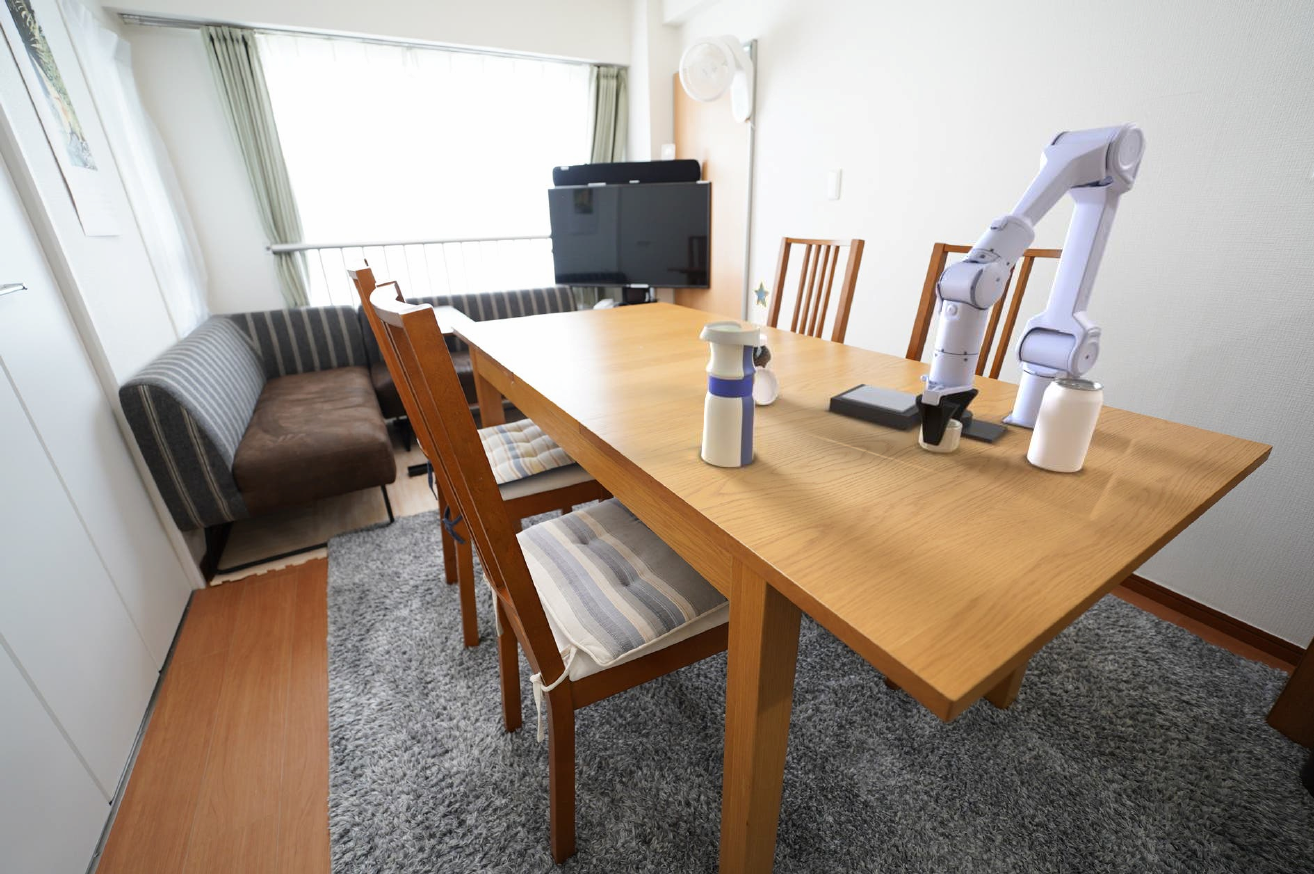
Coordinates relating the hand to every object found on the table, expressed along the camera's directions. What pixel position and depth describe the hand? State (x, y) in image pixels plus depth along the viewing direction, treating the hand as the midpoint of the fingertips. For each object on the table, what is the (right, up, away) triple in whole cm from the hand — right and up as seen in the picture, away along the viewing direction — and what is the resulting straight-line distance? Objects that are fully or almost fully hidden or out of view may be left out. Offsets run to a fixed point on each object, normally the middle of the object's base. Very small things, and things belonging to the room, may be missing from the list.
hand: (938, 438), depth 83 cm
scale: (-3, +5, +15) cm, 16 cm away
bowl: (0, -1, 0) cm, 1 cm away
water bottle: (-33, -3, -1) cm, 33 cm away
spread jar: (-24, +8, +24) cm, 35 cm away
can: (+13, -4, -6) cm, 15 cm away
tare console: (+8, +1, +7) cm, 11 cm away
